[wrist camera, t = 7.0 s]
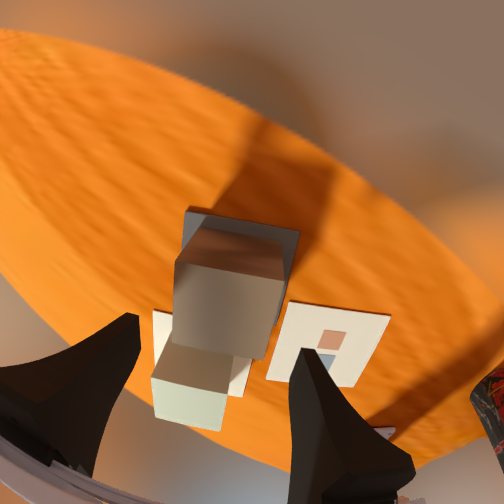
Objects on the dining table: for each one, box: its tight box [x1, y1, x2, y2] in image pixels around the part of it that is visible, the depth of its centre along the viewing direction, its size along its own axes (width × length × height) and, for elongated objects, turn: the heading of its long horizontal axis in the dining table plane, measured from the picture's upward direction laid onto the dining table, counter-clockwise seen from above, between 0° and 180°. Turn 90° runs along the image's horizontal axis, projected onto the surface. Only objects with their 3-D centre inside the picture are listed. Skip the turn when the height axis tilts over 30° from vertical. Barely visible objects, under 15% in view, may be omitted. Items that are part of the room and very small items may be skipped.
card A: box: [266, 301, 391, 387], centre depth 21 cm, size 8×8×1 cm
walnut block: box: [172, 226, 285, 360], centre depth 16 cm, size 5×5×5 cm
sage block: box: [151, 331, 234, 432], centre depth 20 cm, size 5×5×5 cm
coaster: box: [181, 210, 300, 326], centre depth 19 cm, size 7×7×1 cm
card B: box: [153, 310, 252, 397], centre depth 22 cm, size 8×8×1 cm
